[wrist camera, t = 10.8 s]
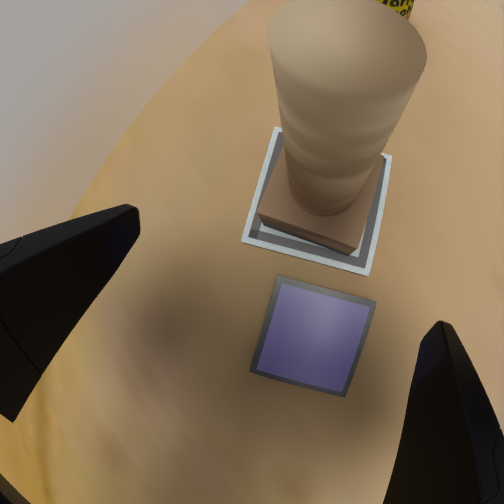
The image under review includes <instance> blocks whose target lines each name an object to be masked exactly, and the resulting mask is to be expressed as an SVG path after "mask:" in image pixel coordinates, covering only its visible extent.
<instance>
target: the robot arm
mask: <svg viewBox="0 0 504 504" xmlns="http://www.w3.org/2000/svg"><path fill="white" fill-rule="evenodd" d="M139 235H140V217H139V210H138V208H137V207H134V206H132V205H129V204H123V205H120V206H116V207H113V208H109V209H106V210H102V211H99V212H95V213H92V214H89V215H85V216H82V217H79V218H75V219H72V220H69V221H66V222H63V223H60V224H57V225H54V226H51V227H48V228H45V229H42V230H39V231H36V232H33V233H30V234H27V235H24V236H23V237H19V238H16V239H13V240H10V241H8V242H5V243H2V244H0V414H1V415H3V416H4V417H5V418H7V419H8V420H9V421H11V422H12V423H13V422H14V421H15V419H16V418H17V416H18V414H19V412H20V411H21V409H22V407H23V406H24V404H25V402H26V400H27V399H28V397H29V395H30V394H31V392H32V391H33V389H34V387H35V386H36V384H37V382H38V381H39V379H40V378H41V376H42V374H43V373H44V371H45V370H46V368H47V367H48V365H49V363H50V362H51V360H52V359H53V357H54V356H55V354H56V353H57V351H58V350H59V349H60V347H61V346H62V344H63V343H64V341H65V340H66V338H67V337H68V335H69V334H70V333H71V331H72V330H73V328H74V327H75V326H76V324H77V323H78V321H79V320H80V319H81V317H82V316H83V315H84V313H85V312H86V310H87V309H88V308H89V306H90V305H91V304H92V302H93V301H94V300H95V298H96V297H97V296H98V294H99V293H100V292H101V291H102V289H103V288H104V287H105V285H106V284H107V283H108V281H109V280H110V279H111V278H112V276H113V275H114V273H115V272H116V270H117V269H118V267H119V266H120V264H121V263H122V261H123V260H124V258H125V257H126V255H127V254H128V252H129V251H130V249H131V248H132V246H133V245H134V243H135V242H136V240H137V239H138V237H139ZM0 504H31V503H30V502H28V501H27V500H26V499H25V498H24V497H23V496H22V495H21V494H20V493H19V492H18V491H17V490H16V489H15V488H14V487H13V486H12V485H11V484H10V483H9V482H8V481H7V480H6V479H5V478H4V477H3V476H2V475H1V474H0ZM383 504H504V435H503V433H502V430H501V429H500V425H499V422H498V420H497V417H496V415H495V412H494V410H493V408H492V405H491V403H490V401H489V398H488V396H487V394H486V391H485V389H484V387H483V385H482V383H481V381H480V378H479V376H478V374H477V372H476V370H475V368H474V366H473V364H472V362H471V360H470V358H469V356H468V354H467V352H466V350H465V348H464V346H463V344H462V343H461V341H460V339H459V337H458V335H457V333H456V332H455V330H454V328H453V326H452V325H451V324H449V323H447V322H444V321H438V322H436V323H435V324H434V326H433V327H432V328H431V329H430V330H429V331H428V333H427V334H426V335H425V336H424V337H423V339H422V341H421V343H420V347H419V352H418V357H417V362H416V366H415V371H414V375H413V379H412V383H411V387H410V392H409V397H408V403H407V409H406V414H405V420H404V425H403V430H402V434H401V439H400V443H399V448H398V452H397V456H396V460H395V464H394V468H393V471H392V475H391V479H390V482H389V485H388V489H387V492H386V495H385V498H384V501H383Z"/></svg>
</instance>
